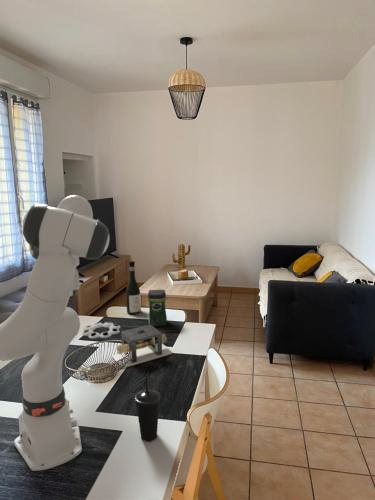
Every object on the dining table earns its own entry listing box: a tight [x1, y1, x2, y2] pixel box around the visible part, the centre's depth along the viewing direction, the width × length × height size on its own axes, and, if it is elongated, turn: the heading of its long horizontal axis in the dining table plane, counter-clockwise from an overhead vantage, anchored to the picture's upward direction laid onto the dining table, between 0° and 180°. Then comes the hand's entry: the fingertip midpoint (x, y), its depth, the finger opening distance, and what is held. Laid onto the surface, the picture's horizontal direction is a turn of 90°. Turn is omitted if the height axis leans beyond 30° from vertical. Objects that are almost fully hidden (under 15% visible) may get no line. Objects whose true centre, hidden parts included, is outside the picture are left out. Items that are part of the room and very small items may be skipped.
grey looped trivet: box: [81, 321, 121, 340], centre depth 192 cm, size 20×20×2 cm
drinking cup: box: [134, 375, 161, 443], centre depth 113 cm, size 8×8×20 cm
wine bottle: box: [125, 260, 142, 315], centre depth 213 cm, size 8×8×30 cm
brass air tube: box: [116, 333, 168, 355], centre depth 164 cm, size 22×4×4 cm, turn 122°
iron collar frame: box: [121, 324, 163, 363], centre depth 164 cm, size 14×11×10 cm
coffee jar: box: [147, 289, 168, 327], centre depth 198 cm, size 10×8×19 cm
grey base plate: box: [111, 343, 173, 369], centre depth 165 cm, size 24×11×1 cm, turn 122°
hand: (69, 295), depth 149 cm, fingers closed
